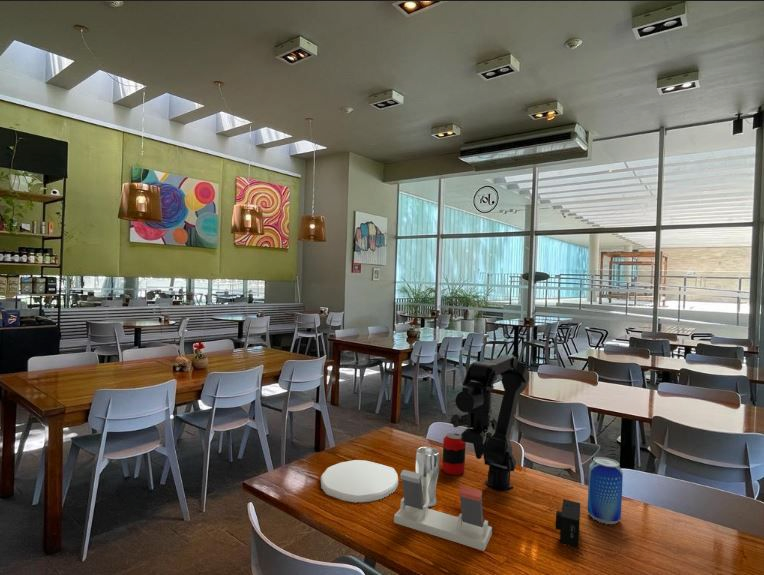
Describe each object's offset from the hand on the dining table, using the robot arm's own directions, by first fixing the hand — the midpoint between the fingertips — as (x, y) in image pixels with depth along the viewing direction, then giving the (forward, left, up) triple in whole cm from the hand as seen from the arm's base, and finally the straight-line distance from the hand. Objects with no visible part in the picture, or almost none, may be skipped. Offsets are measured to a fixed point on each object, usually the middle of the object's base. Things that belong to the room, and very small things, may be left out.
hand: (478, 458), depth 127 cm
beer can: (-28, +21, -13) cm, 37 cm away
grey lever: (+22, +1, -9) cm, 24 cm away
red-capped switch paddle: (+13, +14, -9) cm, 21 cm away
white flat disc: (+27, -25, -14) cm, 39 cm away
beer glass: (+14, -6, -13) cm, 20 cm away
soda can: (-7, -21, -13) cm, 26 cm away
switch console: (+18, +8, -13) cm, 23 cm away
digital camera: (-11, +23, -13) cm, 29 cm away
